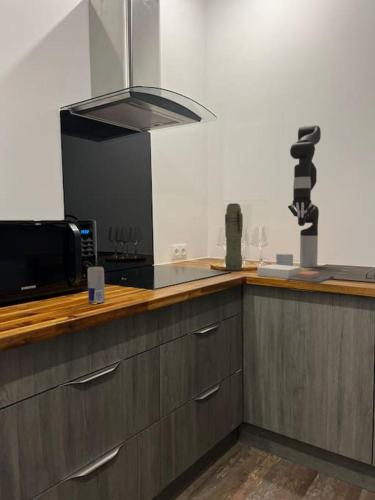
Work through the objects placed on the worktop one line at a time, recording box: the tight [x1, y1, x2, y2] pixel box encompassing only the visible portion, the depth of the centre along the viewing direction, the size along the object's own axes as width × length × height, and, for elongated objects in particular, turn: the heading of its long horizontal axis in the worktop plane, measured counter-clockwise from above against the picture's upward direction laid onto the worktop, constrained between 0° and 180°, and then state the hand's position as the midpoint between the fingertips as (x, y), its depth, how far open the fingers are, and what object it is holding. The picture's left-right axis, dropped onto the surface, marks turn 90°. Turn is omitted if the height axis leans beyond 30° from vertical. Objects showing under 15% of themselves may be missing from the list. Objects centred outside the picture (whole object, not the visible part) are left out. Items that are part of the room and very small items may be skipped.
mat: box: [287, 274, 335, 284], centre depth 171 cm, size 18×14×1 cm
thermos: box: [224, 202, 244, 272], centre depth 202 cm, size 9×12×35 cm
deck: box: [256, 264, 303, 280], centre depth 181 cm, size 14×16×4 cm
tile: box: [298, 270, 320, 279], centre depth 172 cm, size 9×6×2 cm, turn 139°
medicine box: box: [275, 253, 294, 266], centre depth 196 cm, size 8×4×9 cm, turn 84°
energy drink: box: [87, 266, 106, 304], centre depth 128 cm, size 5×5×12 cm
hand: (301, 225), depth 174 cm, fingers closed
